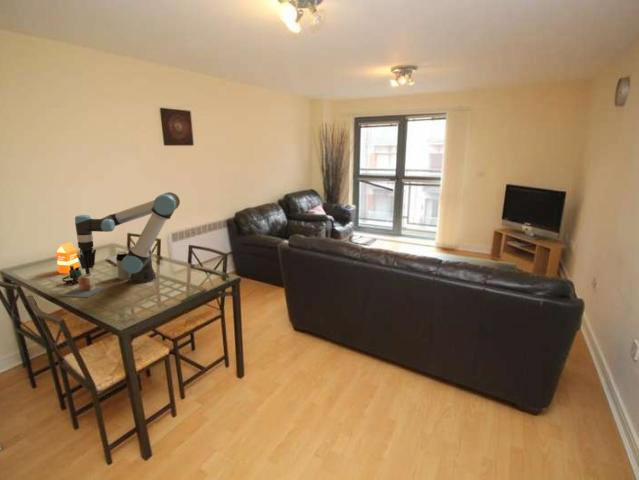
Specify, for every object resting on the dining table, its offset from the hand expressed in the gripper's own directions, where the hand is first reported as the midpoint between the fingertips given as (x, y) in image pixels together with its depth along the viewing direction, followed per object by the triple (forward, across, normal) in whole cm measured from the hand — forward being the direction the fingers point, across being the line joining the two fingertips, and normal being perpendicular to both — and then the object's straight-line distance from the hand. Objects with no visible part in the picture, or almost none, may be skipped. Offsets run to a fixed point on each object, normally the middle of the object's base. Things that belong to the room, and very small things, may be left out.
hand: (89, 278), depth 203 cm
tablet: (+7, -54, -14) cm, 56 cm away
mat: (+7, +7, 0) cm, 10 cm away
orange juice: (+7, -26, -35) cm, 45 cm away
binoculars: (+7, -6, -16) cm, 18 cm away
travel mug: (+7, -20, +9) cm, 23 cm away
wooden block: (+6, +3, 0) cm, 7 cm away
